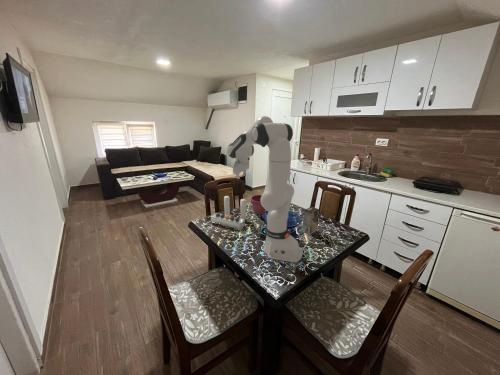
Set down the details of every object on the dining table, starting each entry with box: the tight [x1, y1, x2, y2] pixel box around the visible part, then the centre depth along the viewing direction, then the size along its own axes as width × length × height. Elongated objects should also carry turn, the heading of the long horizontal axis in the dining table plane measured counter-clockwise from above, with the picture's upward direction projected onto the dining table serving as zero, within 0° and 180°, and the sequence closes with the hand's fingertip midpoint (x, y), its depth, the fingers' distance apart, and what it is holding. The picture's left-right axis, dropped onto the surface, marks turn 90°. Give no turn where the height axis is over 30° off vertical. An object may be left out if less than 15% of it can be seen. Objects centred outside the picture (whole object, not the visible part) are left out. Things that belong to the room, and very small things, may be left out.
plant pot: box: [250, 194, 267, 216], centre depth 168 cm, size 14×14×13 cm
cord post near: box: [239, 198, 247, 221], centre depth 155 cm, size 4×4×16 cm
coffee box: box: [301, 206, 320, 236], centre depth 140 cm, size 9×6×16 cm
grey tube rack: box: [210, 212, 246, 231], centre depth 150 cm, size 25×8×7 cm, turn 65°
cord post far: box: [223, 195, 231, 216], centre depth 161 cm, size 4×4×16 cm
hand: (241, 177), depth 160 cm, fingers open, 8 cm apart
